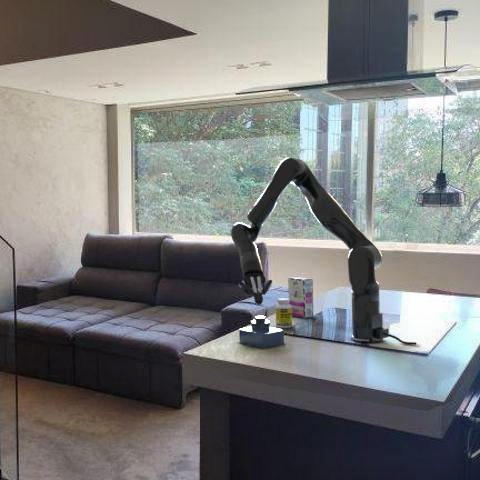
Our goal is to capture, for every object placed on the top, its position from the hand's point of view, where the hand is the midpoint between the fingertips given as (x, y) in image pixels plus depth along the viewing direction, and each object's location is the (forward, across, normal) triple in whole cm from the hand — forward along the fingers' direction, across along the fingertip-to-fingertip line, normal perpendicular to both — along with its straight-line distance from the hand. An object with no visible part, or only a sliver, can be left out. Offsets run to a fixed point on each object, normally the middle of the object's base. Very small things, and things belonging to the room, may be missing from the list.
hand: (259, 303), depth 213 cm
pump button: (+5, 0, +5) cm, 7 cm away
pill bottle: (-5, +14, +24) cm, 28 cm away
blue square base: (+13, -1, +7) cm, 14 cm away
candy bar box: (-18, +26, +37) cm, 49 cm away
